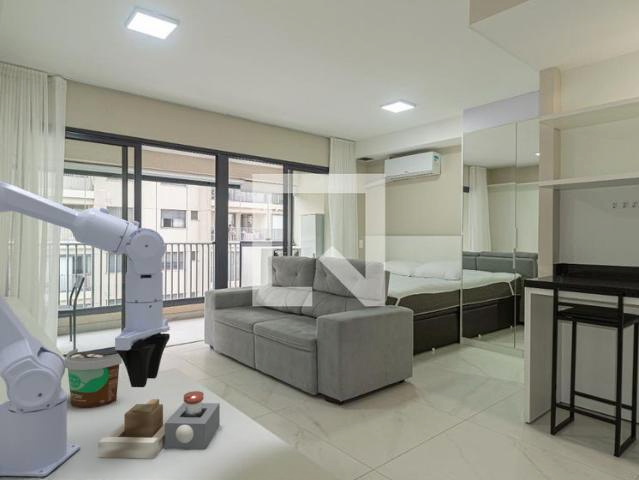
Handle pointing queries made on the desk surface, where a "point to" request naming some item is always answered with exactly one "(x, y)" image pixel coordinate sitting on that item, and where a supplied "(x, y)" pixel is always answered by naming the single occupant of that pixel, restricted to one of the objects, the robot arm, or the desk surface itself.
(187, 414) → the plunger
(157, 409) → the block
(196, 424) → the grey housing block
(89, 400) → the food container
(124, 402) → the desk surface
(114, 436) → the channel
